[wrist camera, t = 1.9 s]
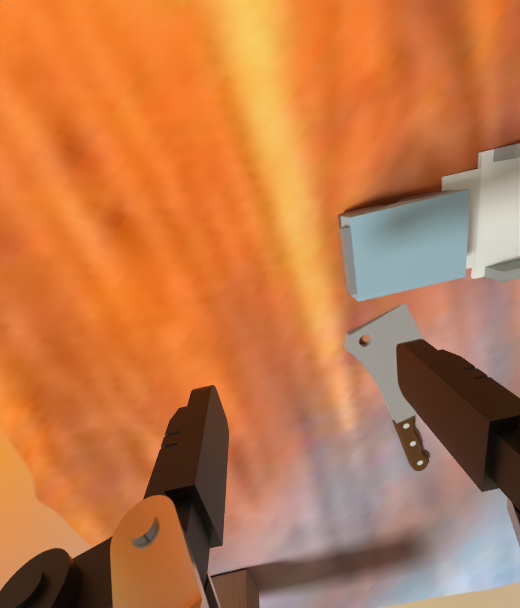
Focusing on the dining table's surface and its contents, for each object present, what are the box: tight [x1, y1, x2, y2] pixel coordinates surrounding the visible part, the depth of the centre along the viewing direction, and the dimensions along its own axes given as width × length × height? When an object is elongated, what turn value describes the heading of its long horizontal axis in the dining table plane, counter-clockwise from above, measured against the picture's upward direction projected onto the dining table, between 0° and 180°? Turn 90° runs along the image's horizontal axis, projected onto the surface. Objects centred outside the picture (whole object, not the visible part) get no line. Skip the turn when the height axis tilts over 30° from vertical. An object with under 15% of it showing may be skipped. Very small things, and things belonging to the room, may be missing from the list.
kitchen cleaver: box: [343, 303, 429, 471], centre depth 32 cm, size 24×1×10 cm
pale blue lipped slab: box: [338, 189, 470, 302], centre depth 24 cm, size 7×10×4 cm
